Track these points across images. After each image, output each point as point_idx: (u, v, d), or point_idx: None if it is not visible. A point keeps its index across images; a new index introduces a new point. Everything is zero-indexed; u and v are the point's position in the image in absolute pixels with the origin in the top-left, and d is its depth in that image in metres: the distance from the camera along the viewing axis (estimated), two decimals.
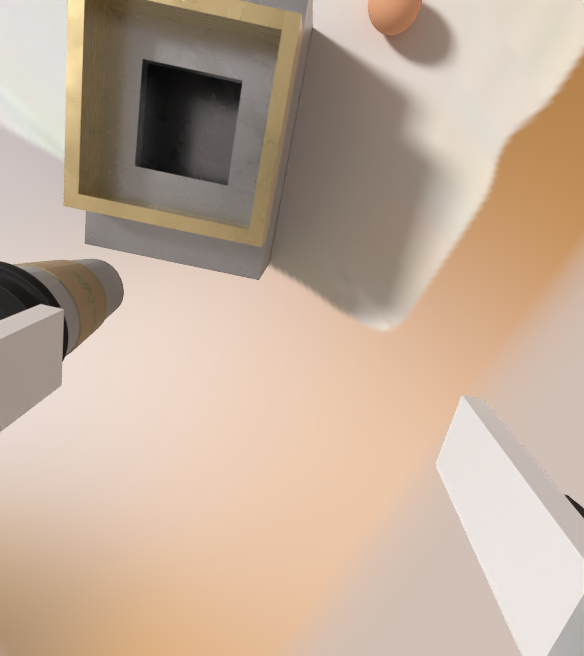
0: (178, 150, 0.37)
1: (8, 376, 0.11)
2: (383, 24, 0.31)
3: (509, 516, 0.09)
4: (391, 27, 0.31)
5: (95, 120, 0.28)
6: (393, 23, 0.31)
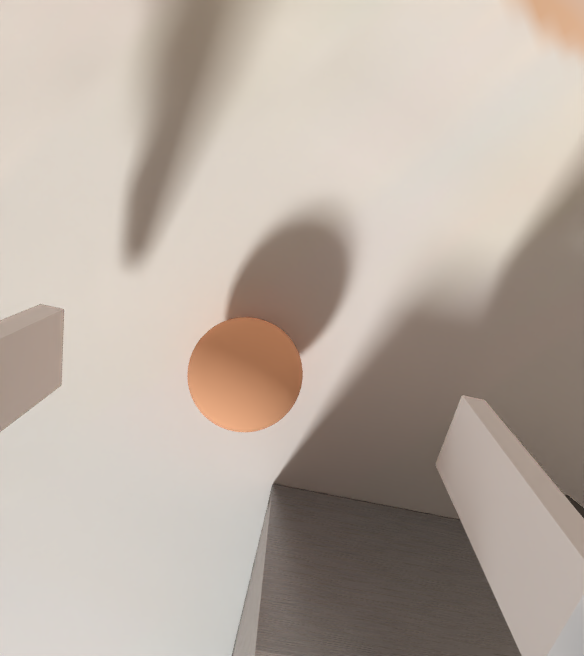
0: None
1: (8, 376, 0.11)
2: (290, 407, 0.14)
3: (509, 516, 0.09)
4: (297, 391, 0.14)
5: None
6: (292, 392, 0.13)
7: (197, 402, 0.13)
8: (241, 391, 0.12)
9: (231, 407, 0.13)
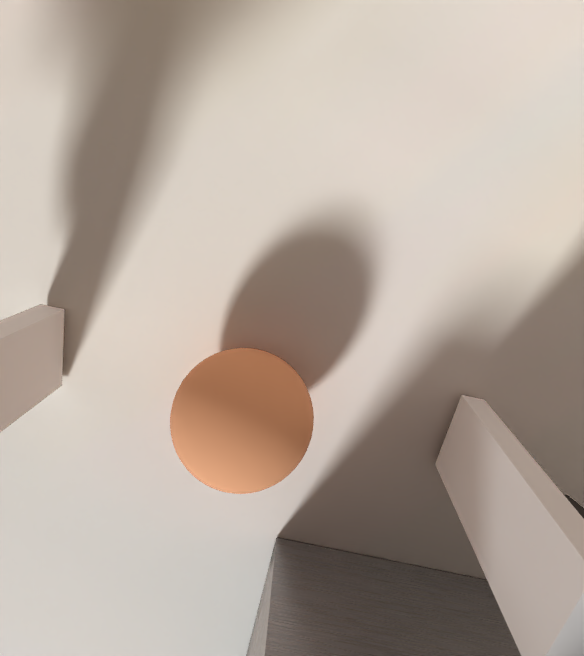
0: None
1: (9, 376, 0.11)
2: (298, 462, 0.11)
3: (509, 516, 0.09)
4: (306, 443, 0.11)
5: None
6: (300, 446, 0.11)
7: (181, 458, 0.11)
8: (235, 449, 0.10)
9: (223, 468, 0.10)
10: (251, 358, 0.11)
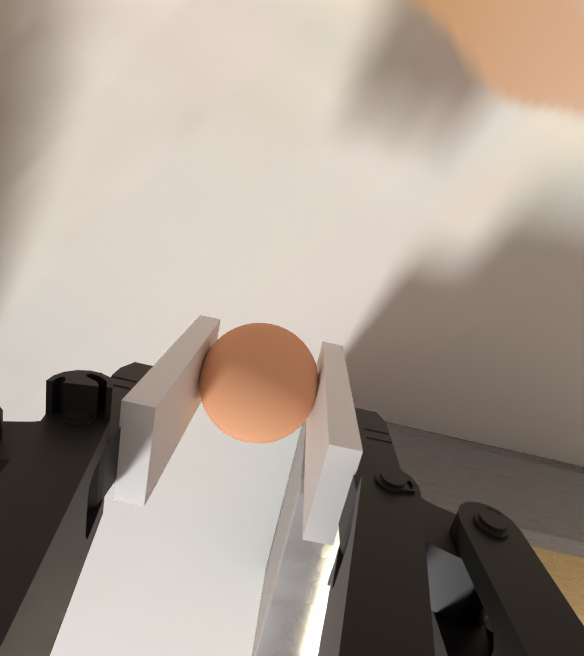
0: None
1: (198, 377, 0.13)
2: (306, 418, 0.13)
3: (317, 425, 0.11)
4: (312, 401, 0.13)
5: None
6: (307, 403, 0.13)
7: (208, 412, 0.13)
8: (254, 401, 0.12)
9: (244, 418, 0.12)
10: (267, 330, 0.13)
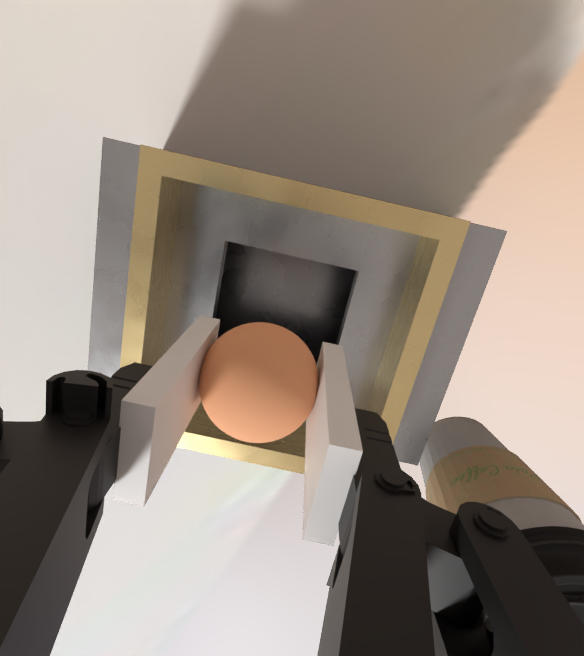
0: (299, 329, 0.30)
1: (198, 377, 0.13)
2: (306, 417, 0.13)
3: (317, 425, 0.11)
4: (313, 401, 0.13)
5: None
6: (308, 402, 0.13)
7: (208, 411, 0.13)
8: (254, 401, 0.12)
9: (244, 417, 0.12)
10: (267, 329, 0.13)
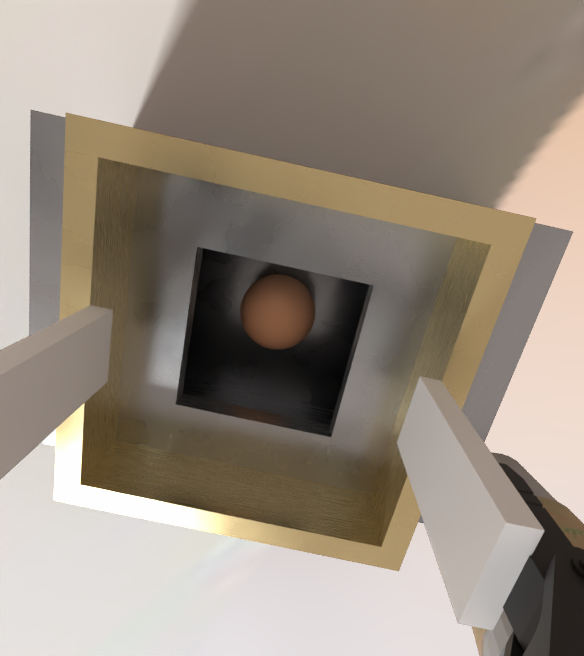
0: (298, 351, 0.25)
1: (69, 372, 0.12)
2: (307, 332, 0.21)
3: (449, 481, 0.10)
4: (311, 321, 0.21)
5: (263, 488, 0.18)
6: (308, 321, 0.21)
7: (247, 326, 0.21)
8: (276, 316, 0.20)
9: (269, 327, 0.20)
10: (283, 277, 0.21)
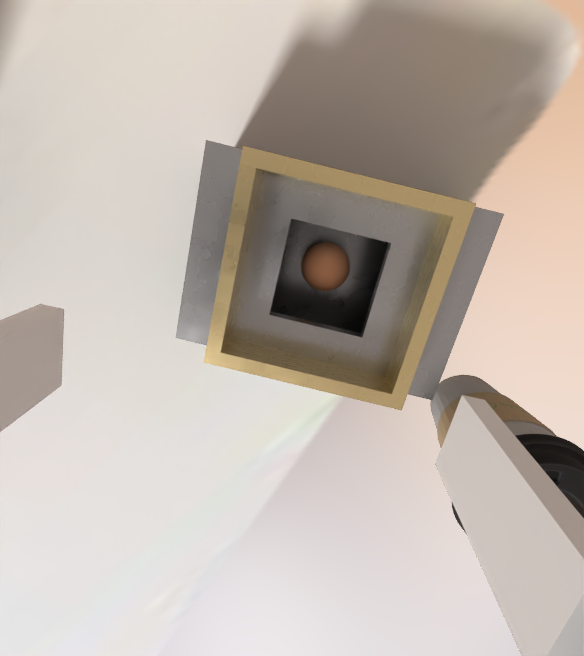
0: (336, 297, 0.37)
1: (8, 376, 0.11)
2: (344, 279, 0.33)
3: (509, 516, 0.09)
4: (347, 272, 0.33)
5: (321, 366, 0.30)
6: (345, 271, 0.33)
7: (306, 273, 0.33)
8: (325, 265, 0.32)
9: (321, 273, 0.32)
10: (330, 243, 0.33)
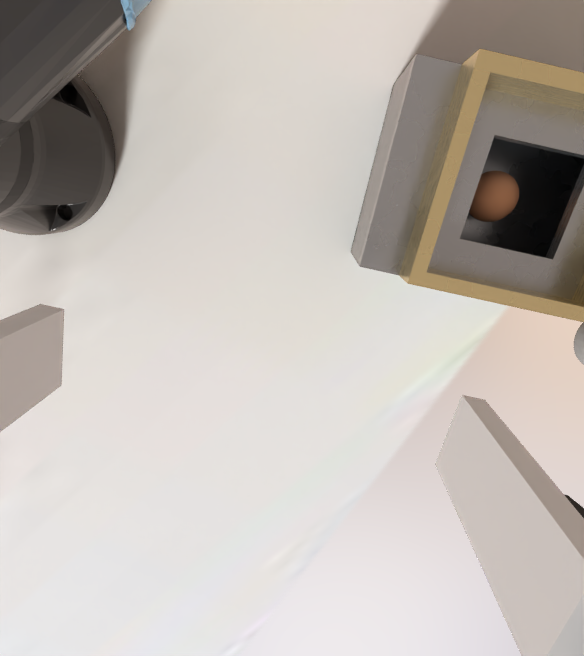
0: (490, 233, 0.36)
1: (8, 376, 0.11)
2: (514, 207, 0.33)
3: (509, 516, 0.09)
4: None
5: (514, 288, 0.29)
6: (517, 198, 0.32)
7: (476, 201, 0.33)
8: (501, 191, 0.32)
9: (495, 198, 0.32)
10: (499, 171, 0.33)
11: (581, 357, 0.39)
